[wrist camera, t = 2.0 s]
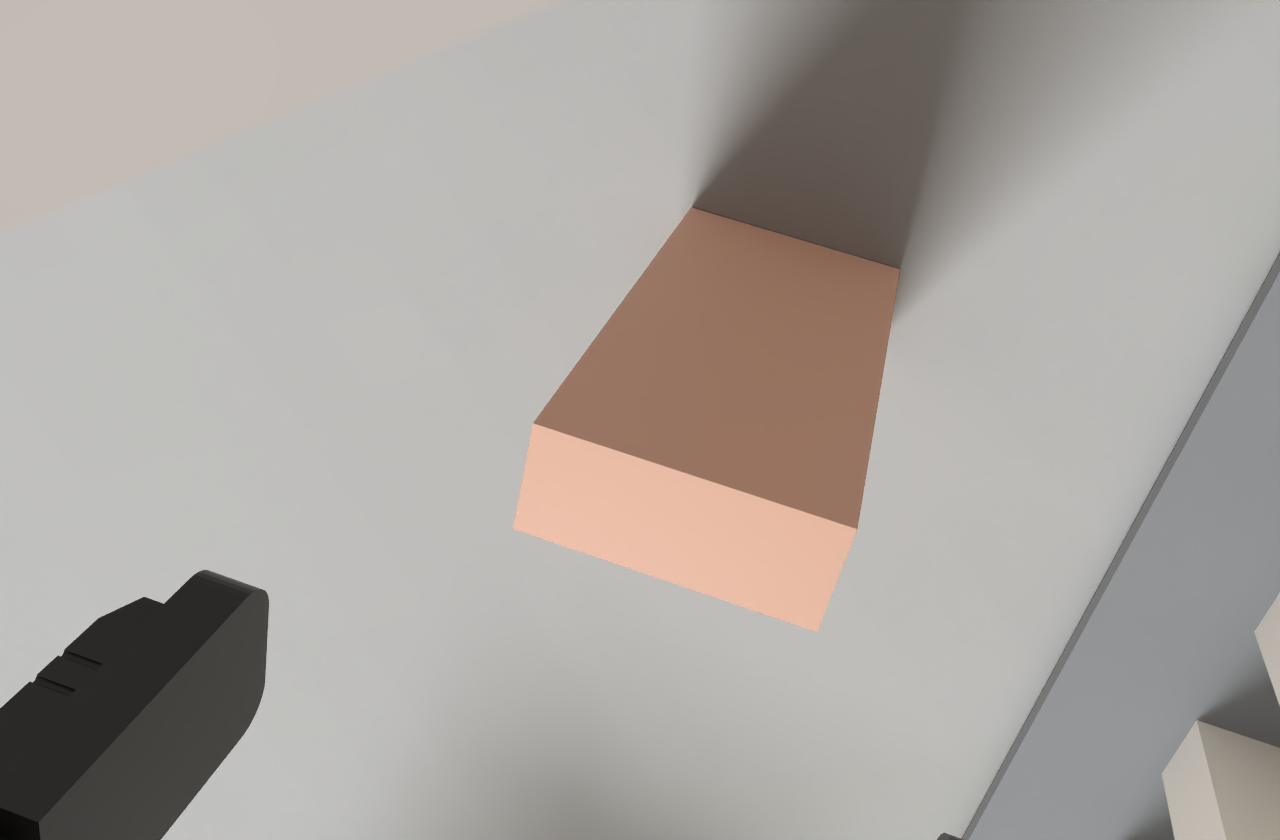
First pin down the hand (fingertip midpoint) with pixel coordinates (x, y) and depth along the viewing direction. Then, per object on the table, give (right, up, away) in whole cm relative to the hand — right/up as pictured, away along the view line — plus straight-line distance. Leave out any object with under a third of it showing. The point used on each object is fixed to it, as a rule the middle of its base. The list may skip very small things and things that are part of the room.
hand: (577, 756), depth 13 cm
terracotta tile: (+4, +7, +14) cm, 16 cm away
